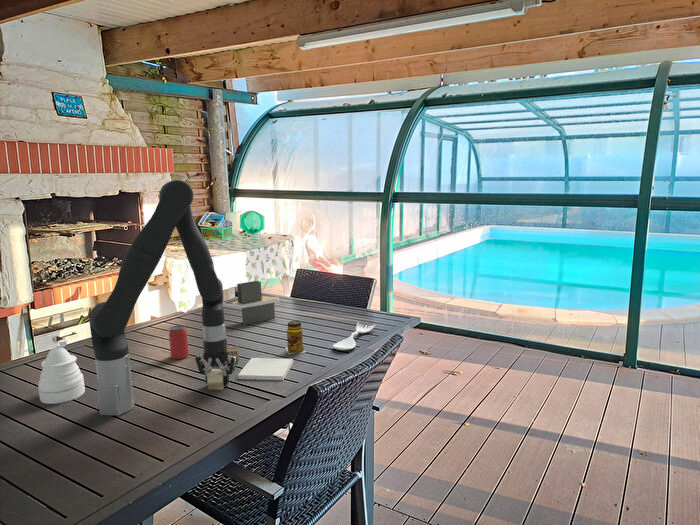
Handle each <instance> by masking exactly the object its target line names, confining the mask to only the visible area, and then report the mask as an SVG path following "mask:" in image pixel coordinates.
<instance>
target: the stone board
mask: <svg viewBox="0 0 700 525" xmlns="http://www.w3.org/2000/svg"><path fill="white" fill-rule="evenodd" d="M293 364H294V359H293V358H272V357H251V358H250V359H249V361H248V362H247V363H246V364H245V366H244V367H243V368H242V370H240V372H239V373H238V374H237V379H238V380H255V379H256V380H259V381H284V379H285V378H286V376H287V375H288V373H289V371H290V369H291V367H292V365H293Z"/></svg>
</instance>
